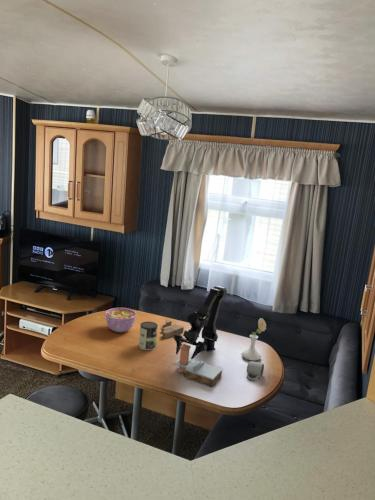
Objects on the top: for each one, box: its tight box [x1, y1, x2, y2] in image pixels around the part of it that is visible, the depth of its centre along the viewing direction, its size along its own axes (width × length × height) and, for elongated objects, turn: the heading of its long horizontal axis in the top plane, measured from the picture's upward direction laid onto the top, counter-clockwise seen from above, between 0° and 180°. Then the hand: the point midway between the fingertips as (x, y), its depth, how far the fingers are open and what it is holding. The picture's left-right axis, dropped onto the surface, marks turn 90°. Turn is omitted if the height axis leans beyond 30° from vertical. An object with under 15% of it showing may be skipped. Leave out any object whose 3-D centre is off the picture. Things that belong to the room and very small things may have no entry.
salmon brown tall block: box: [178, 343, 191, 373], centre depth 214 cm, size 4×4×14 cm
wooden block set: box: [161, 318, 185, 340], centre depth 262 cm, size 17×6×18 cm
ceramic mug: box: [246, 360, 265, 382], centre depth 215 cm, size 11×8×8 cm
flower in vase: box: [241, 317, 267, 361], centre depth 235 cm, size 13×11×25 cm
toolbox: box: [183, 370, 223, 388], centre depth 210 cm, size 16×12×4 cm
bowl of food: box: [104, 307, 137, 333], centre depth 257 cm, size 20×20×12 cm
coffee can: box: [138, 321, 158, 351], centre depth 237 cm, size 10×10×14 cm
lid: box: [173, 358, 223, 380], centre depth 211 cm, size 24×12×2 cm, turn 62°
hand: (183, 356), depth 213 cm, fingers open, 9 cm apart
